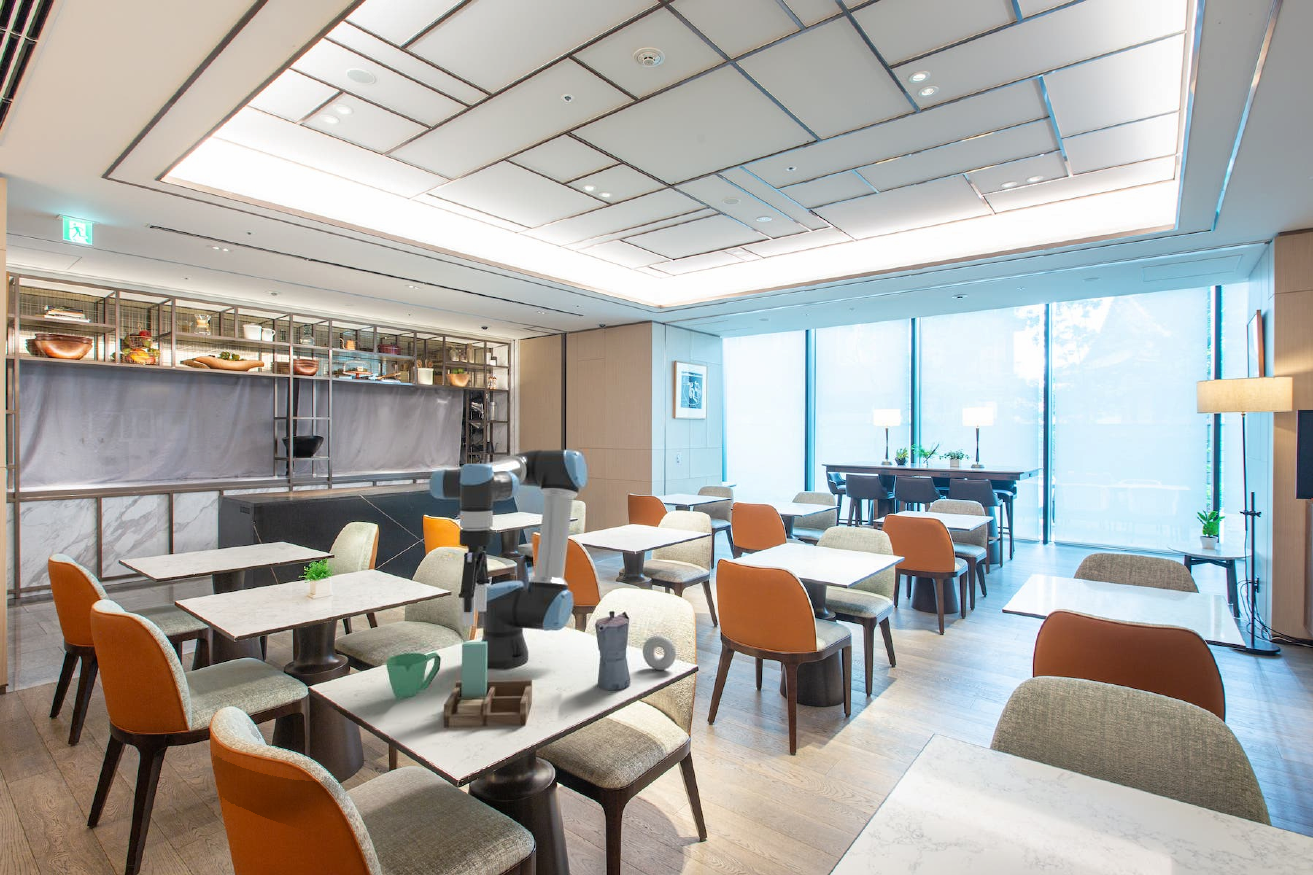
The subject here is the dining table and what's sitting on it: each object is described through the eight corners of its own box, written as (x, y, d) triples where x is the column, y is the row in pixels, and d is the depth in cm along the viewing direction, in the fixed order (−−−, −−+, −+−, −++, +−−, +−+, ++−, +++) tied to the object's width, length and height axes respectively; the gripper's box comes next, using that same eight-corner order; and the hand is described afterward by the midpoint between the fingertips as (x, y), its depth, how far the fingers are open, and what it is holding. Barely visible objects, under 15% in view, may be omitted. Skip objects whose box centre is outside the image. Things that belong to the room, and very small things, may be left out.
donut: (677, 669, 185) (677, 635, 186) (673, 673, 182) (674, 638, 182) (644, 665, 189) (645, 631, 189) (640, 669, 185) (641, 634, 186)
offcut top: (460, 708, 148) (460, 699, 148) (483, 708, 149) (483, 699, 149) (457, 714, 145) (457, 705, 145) (480, 713, 145) (481, 704, 146)
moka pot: (584, 691, 169) (585, 614, 169) (610, 672, 183) (611, 602, 183) (617, 696, 165) (618, 618, 165) (641, 676, 179) (641, 605, 180)
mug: (401, 709, 156) (402, 668, 156) (377, 700, 161) (378, 660, 162) (450, 690, 168) (451, 652, 168) (427, 682, 174) (427, 645, 174)
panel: (463, 709, 153) (464, 641, 153) (486, 708, 153) (487, 641, 153) (461, 712, 151) (462, 644, 151) (485, 712, 151) (485, 644, 151)
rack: (456, 711, 155) (456, 680, 155) (531, 710, 156) (532, 679, 156) (443, 734, 143) (444, 700, 143) (525, 732, 144) (525, 698, 144)
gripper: (471, 522, 165) (469, 605, 164) (446, 535, 140) (445, 633, 139) (500, 522, 165) (499, 605, 165) (481, 535, 140) (480, 632, 140)
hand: (474, 618), depth 152 cm, fingers open, 13 cm apart
